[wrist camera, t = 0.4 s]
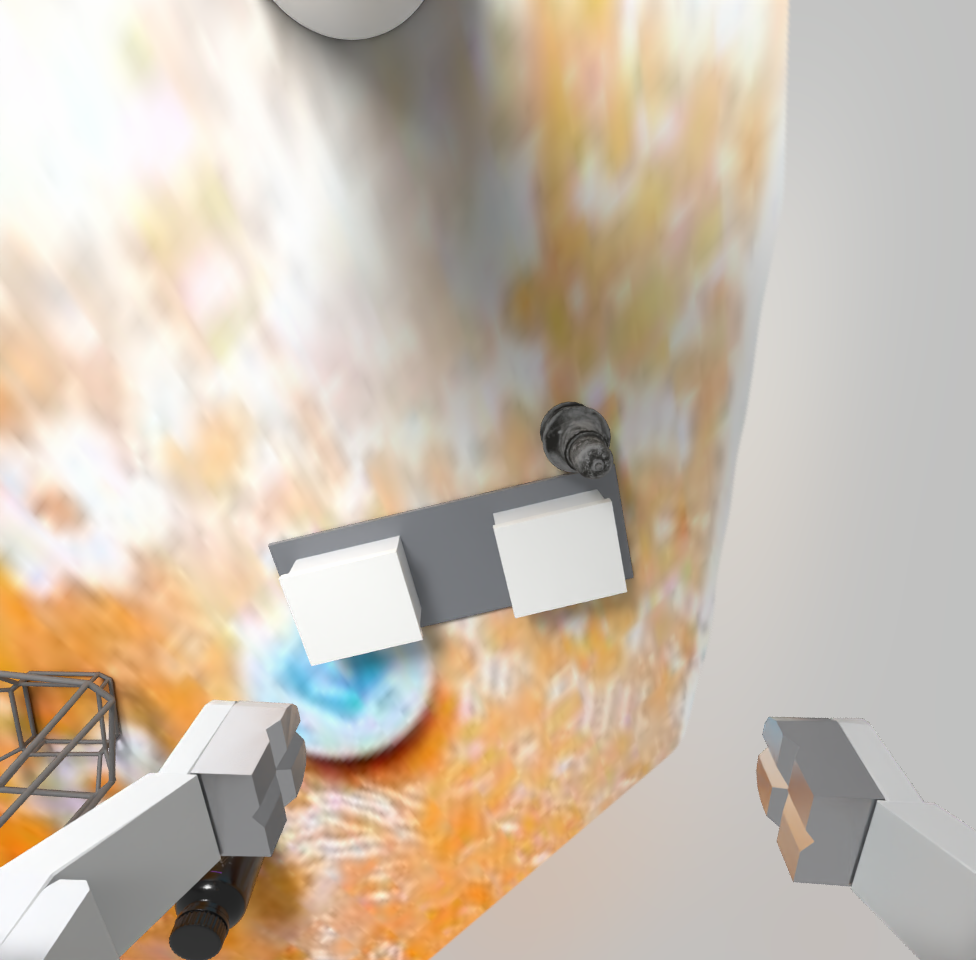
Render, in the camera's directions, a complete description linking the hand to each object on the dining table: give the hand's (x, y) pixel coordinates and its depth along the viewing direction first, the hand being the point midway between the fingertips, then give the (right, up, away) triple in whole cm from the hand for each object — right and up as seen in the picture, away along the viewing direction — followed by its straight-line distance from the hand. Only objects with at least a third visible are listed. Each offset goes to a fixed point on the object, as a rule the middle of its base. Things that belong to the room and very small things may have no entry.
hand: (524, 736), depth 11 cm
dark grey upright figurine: (+7, +9, +45) cm, 46 cm away
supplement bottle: (-28, -34, +56) cm, 72 cm away
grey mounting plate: (-4, -3, +48) cm, 48 cm away
